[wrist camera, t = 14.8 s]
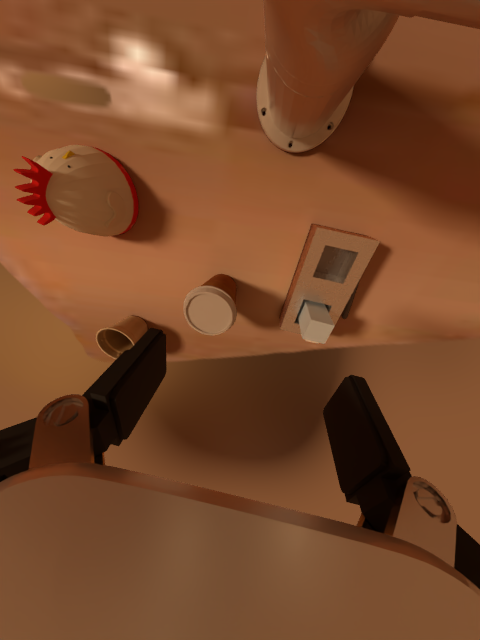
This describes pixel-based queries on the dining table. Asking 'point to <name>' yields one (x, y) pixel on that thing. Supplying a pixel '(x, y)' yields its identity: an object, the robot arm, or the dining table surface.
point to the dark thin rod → (349, 303)
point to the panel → (326, 272)
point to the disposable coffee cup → (212, 305)
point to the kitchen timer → (81, 190)
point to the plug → (314, 322)
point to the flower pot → (121, 336)
